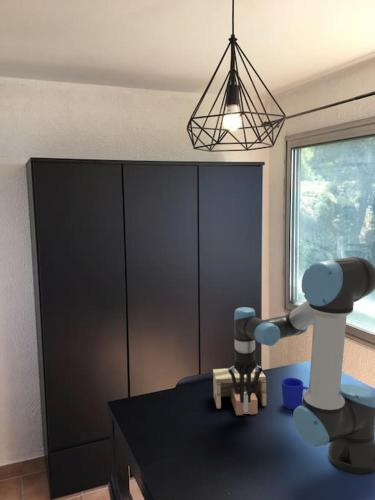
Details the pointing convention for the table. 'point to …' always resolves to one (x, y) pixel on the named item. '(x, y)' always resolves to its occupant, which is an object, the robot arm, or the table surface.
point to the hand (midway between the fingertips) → (245, 410)
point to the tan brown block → (239, 406)
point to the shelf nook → (225, 383)
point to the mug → (292, 392)
